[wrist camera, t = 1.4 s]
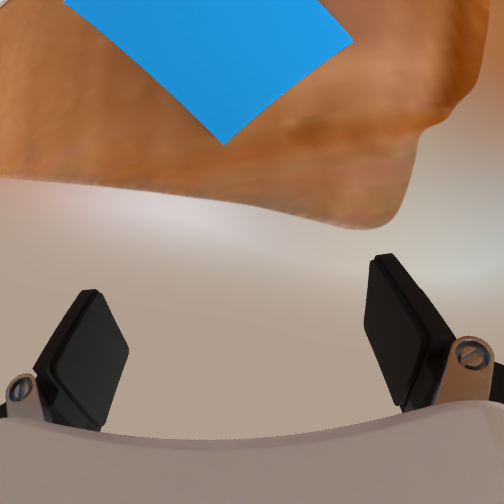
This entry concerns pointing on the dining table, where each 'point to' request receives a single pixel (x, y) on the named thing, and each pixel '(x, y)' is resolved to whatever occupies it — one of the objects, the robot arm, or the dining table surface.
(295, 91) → the dining table surface
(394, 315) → the robot arm
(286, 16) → the book
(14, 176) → the dining table surface
